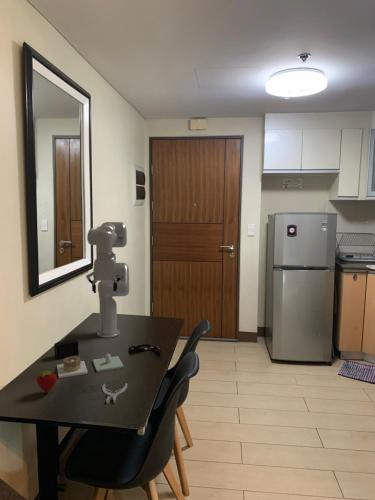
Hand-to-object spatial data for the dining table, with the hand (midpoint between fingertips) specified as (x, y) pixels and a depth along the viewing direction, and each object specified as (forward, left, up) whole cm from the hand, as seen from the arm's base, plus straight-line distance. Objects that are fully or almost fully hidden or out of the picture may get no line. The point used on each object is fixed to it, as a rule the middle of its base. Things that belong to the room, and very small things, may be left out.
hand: (104, 292), depth 179 cm
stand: (+11, -17, -32) cm, 38 cm away
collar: (+11, -17, -31) cm, 37 cm away
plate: (+11, -1, -32) cm, 34 cm away
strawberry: (+28, -28, -32) cm, 51 cm away
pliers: (+38, -4, -33) cm, 50 cm away
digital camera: (-7, -18, -32) cm, 37 cm away
